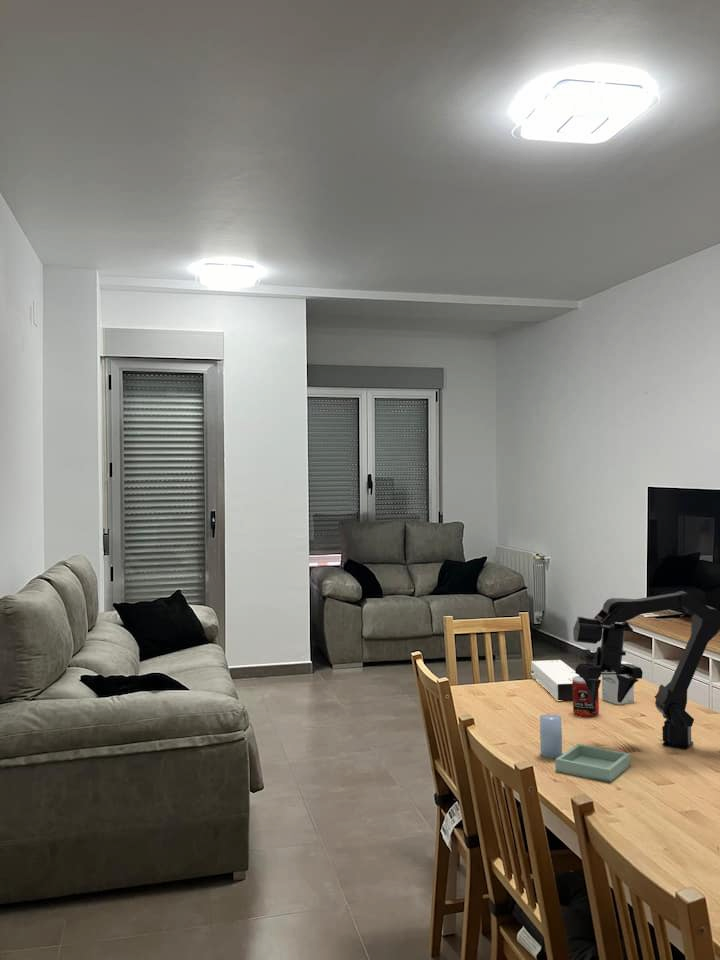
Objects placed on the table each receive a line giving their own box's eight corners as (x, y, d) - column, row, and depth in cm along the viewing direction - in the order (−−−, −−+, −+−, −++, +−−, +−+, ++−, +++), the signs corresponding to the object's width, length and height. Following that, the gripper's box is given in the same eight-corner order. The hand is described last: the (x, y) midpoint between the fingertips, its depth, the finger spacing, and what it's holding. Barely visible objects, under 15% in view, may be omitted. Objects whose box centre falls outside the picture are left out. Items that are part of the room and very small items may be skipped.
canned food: (570, 716, 256) (569, 680, 256) (576, 709, 263) (575, 674, 263) (595, 719, 253) (595, 682, 253) (601, 711, 260) (600, 676, 260)
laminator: (592, 701, 273) (591, 683, 273) (554, 703, 272) (554, 684, 272) (561, 676, 307) (561, 659, 306) (528, 677, 306) (528, 661, 306)
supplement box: (601, 700, 273) (600, 661, 273) (619, 697, 276) (618, 658, 276) (617, 705, 266) (616, 666, 266) (635, 702, 269) (634, 663, 269)
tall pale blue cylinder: (565, 753, 223) (564, 716, 223) (556, 759, 218) (555, 721, 218) (546, 750, 226) (545, 713, 226) (537, 755, 222) (536, 718, 222)
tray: (630, 765, 213) (630, 753, 213) (609, 782, 202) (609, 770, 202) (578, 755, 221) (577, 743, 221) (555, 771, 210) (555, 759, 210)
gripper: (618, 639, 238) (612, 693, 239) (565, 638, 231) (559, 694, 231) (646, 648, 228) (640, 705, 228) (592, 647, 221) (585, 706, 221)
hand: (605, 702), depth 227 cm, fingers open, 9 cm apart
